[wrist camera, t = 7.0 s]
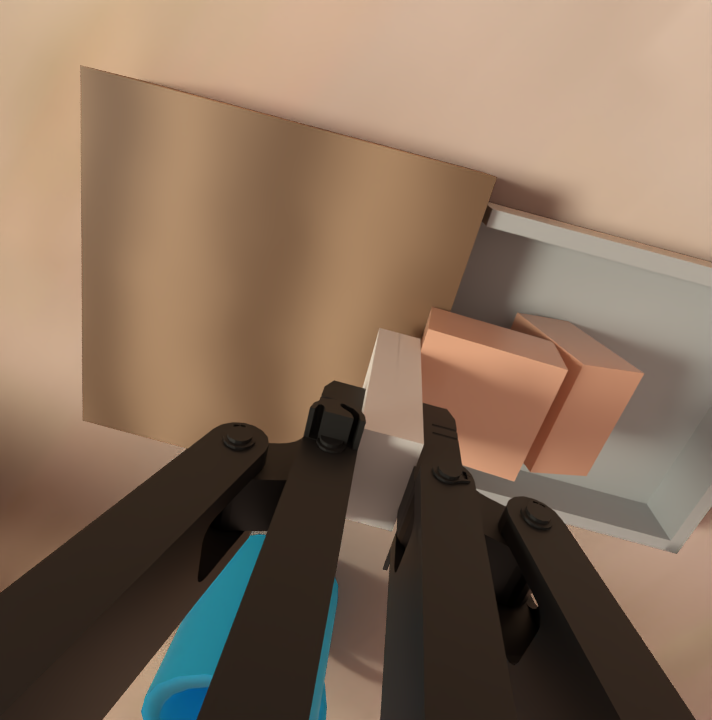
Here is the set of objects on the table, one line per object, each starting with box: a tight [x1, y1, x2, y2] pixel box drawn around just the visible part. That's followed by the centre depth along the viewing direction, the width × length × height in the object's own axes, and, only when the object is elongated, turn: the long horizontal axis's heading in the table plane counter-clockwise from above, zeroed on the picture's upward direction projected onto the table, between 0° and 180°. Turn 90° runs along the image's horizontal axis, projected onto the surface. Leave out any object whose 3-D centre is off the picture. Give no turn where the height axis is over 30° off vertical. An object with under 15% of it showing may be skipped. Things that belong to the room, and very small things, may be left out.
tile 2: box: [420, 307, 568, 481], centre depth 17 cm, size 4×4×2 cm
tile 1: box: [510, 312, 644, 476], centre depth 19 cm, size 4×4×2 cm
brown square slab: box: [80, 65, 497, 449], centre depth 20 cm, size 14×14×4 cm
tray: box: [450, 202, 712, 554], centre depth 20 cm, size 13×12×3 cm
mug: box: [141, 534, 338, 720], centre depth 26 cm, size 12×8×8 cm
